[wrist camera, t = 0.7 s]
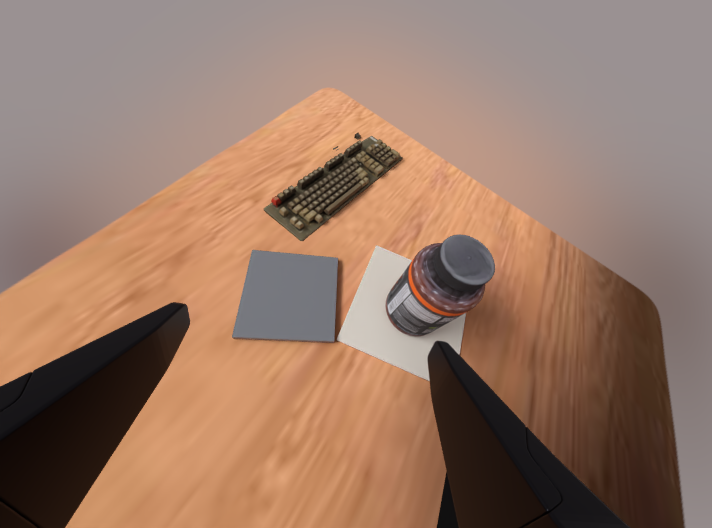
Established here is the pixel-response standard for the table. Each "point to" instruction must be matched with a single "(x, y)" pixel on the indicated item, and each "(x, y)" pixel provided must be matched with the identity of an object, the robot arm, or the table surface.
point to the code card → (373, 327)
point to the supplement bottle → (440, 285)
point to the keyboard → (331, 186)
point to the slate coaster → (288, 298)
